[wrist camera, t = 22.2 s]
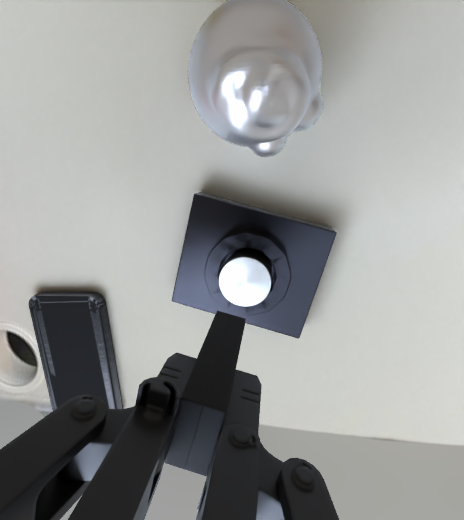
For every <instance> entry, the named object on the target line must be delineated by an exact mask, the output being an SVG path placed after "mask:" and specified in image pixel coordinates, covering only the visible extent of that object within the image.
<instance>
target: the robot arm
mask: <svg viewBox="0 0 464 520" xmlns="http://www.w3.org/2000/svg"><path fill="white" fill-rule="evenodd" d="M245 321H246V319H245V318H242V317H238V316H235V315H231V314H228V313H224V312H221V311H218V310H217V312H216V315H215V317H214V320H213V322H212V324H211V327H210V329H209V331H208V334H207V336H206V339H205V341H204V343H203V346H202V348H201V350H200V353H199V355H198V358H197V359H196V358H193V357H189V356H186V355H183V354H179V353H175V354H174V355H172V356H171V357H169V358H168V359H167V361H166V363H165V364H164V366H163V368H162V370H161V371H160V374H159V375H158V376H157V377H154V378H149V379H147V380H144V381H143V382H142V383H141V384H140V385H139V389H138V395H137V400H136V405H135V406H134V407H131V408H127V409H108V407H107V405H106V402H105V401H104V400H103V399H102V398H100V397H98V396H95V395H85V394H84V395H80V396H76V397H74V398H72V399H70V400H68V401H66V402H65V403H64V404H62V405H61V406H60V407H58V408H57V409H55V410H54V411H53V412H51V413H50V414H49V415H47V416H46V417H44V418H43V419H42V420H40V421H39V422H38V423H36V424H35V425H34V426H32V427H31V428H30V429H28V430H27V431H25V432H24V433H23V434H21V435H20V436H19V437H17V438H15V439H14V440H13V441H11V442H10V443H9V444H7V445H6V446H4V447H3V448H2V449H0V520H60V519H61V518H62V516H63V515H64V514H65V513H66V512H67V511H68V510H69V509H70V508H71V507H72V505H73V504H74V503H75V502H76V501H77V500H78V499H79V498H80V496H81V495H82V494H83V495H82V497H81V498H80V500H79V502H78V503H77V505H76V507H75V509H74V511H73V512H72V514H71V515H70V517H69V519H68V520H144V519H145V516H146V513H147V511H148V508H149V505H150V503H151V500H152V497H153V495H154V492H155V489H156V487H157V484H158V481H159V479H160V475H161V471H162V467H163V464H164V462H165V463H167V464H170V465H173V466H176V467H179V468H182V469H186V470H189V471H192V472H195V473H198V474H201V475H204V476H207V478H206V482H205V486H204V489H203V492H202V496H201V499H200V502H199V506H198V514H197V518H196V520H339V518H338V515H337V513H336V510H335V508H334V505H333V502H332V500H331V497H330V495H329V492H328V489H327V487H326V484H325V481H324V479H323V477H322V476H321V474H320V472H319V471H318V470H317V469H316V468H315V467H314V466H313V465H312V464H310V463H309V462H307V461H305V460H303V459H299V458H290V459H288V460H287V461H285V462H284V463H283V462H282V461H280V460H278V459H277V458H275V457H274V456H273V455H271V454H270V453H268V451H267V450H266V449H265V448H264V447H263V445H262V444H261V442H260V438H259V436H258V426H259V413H260V399H261V383H260V381H259V379H258V377H257V376H256V375H252V374H249V373H246V372H242V371H239V370H236V364H237V359H238V355H239V350H240V345H241V340H242V335H243V330H244V326H245Z"/></svg>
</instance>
